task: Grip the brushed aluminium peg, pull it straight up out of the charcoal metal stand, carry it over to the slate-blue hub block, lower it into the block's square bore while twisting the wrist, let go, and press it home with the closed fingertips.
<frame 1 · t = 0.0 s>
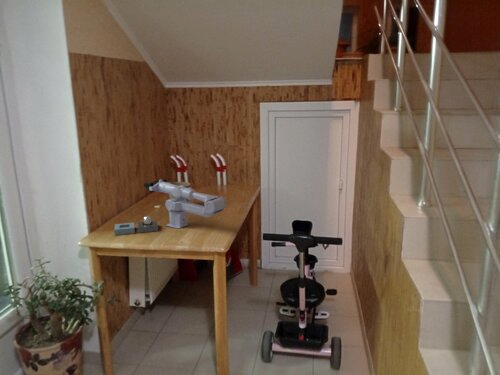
hand: (149, 183, 225), 22 cm above the table, tool horizontal, fingers open, 7 cm apart
hub block: (125, 231, 210), on the table
charcoal stand: (148, 229, 213), on the table
aluminium peg: (147, 223, 212), in the charcoal stand
plant pot: (180, 208, 254), on the table
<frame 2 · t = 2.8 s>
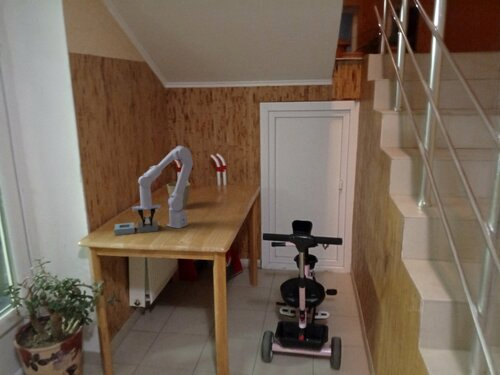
hand: (147, 222, 212), 4 cm above the table, tool pointing down, fingers closed on aluminium peg, 4 cm apart
aluminium peg: (147, 223, 212), in the charcoal stand, touching gripper
everything else where it was.
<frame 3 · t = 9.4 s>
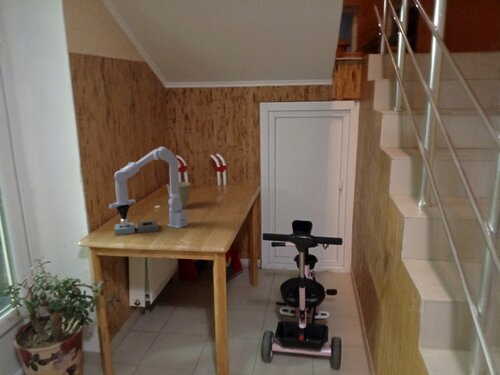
hand: (123, 218, 208), 7 cm above the table, tool pointing down, fingers closed, pressing on aluminium peg
aluminium peg: (124, 225, 209), in the hub block, touching gripper
everything else where it was.
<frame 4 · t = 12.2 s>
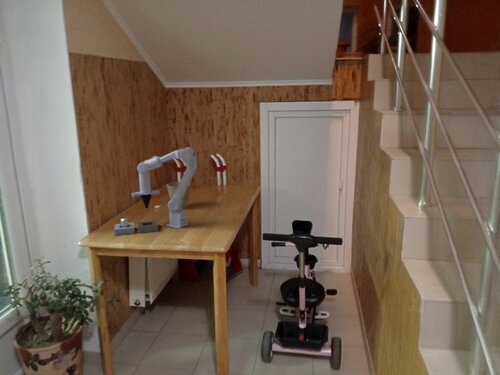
hand: (146, 208, 218), 10 cm above the table, tool pointing down, fingers closed
aluminium peg: (124, 225, 209), in the hub block
everything else where it was.
at the end: aluminium peg 0.0 cm off-centre on the hub block, point 3.5 cm above the hub block's base; aluminium peg tilted 0°; the gripper is holding nothing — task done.
